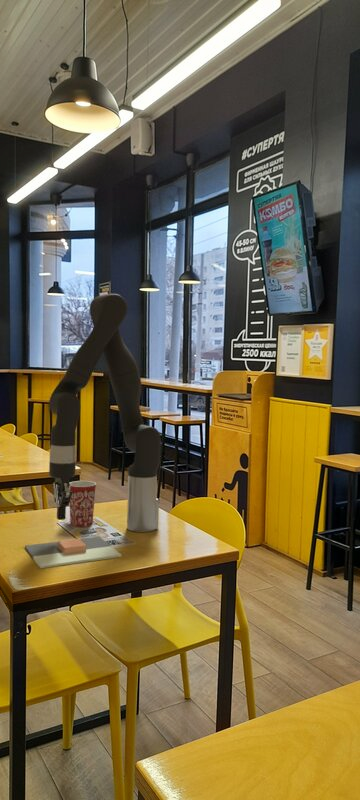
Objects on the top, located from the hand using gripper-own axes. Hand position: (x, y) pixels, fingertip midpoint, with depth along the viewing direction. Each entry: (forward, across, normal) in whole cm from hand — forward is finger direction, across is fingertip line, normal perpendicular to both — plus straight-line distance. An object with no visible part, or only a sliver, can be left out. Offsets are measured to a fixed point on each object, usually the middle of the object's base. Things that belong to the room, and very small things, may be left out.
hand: (61, 519), depth 164 cm
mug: (+7, +18, -12) cm, 22 cm away
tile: (+5, -10, 0) cm, 11 cm away
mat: (+7, -10, 0) cm, 12 cm away
